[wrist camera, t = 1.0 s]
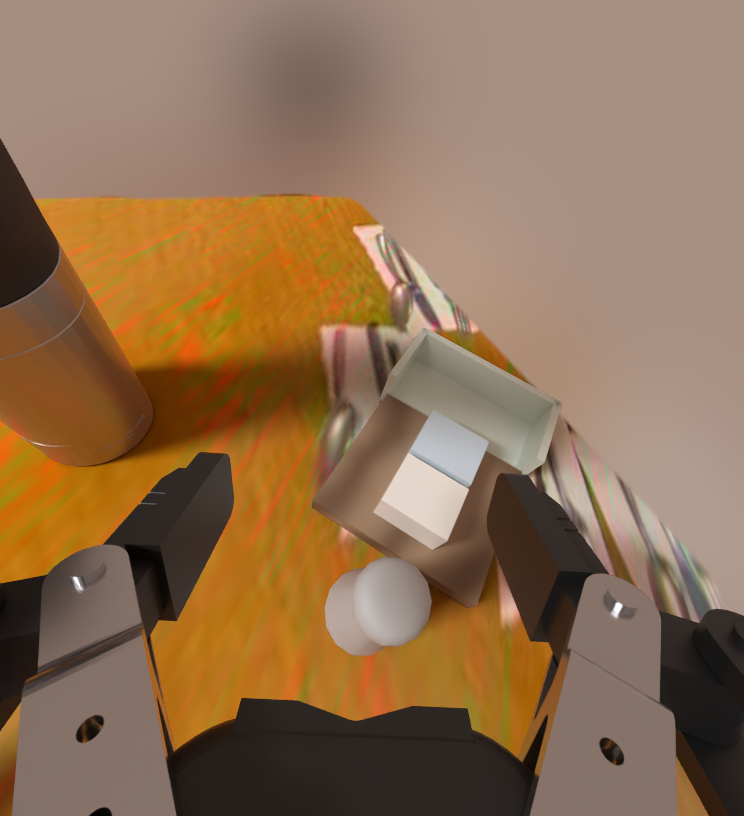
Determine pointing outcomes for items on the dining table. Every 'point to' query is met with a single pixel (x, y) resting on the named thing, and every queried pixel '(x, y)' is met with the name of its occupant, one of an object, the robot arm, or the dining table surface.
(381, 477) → the board
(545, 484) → the dining table surface
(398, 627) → the salt shaker
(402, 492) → the beige block
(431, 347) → the tray
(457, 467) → the pale grey block
